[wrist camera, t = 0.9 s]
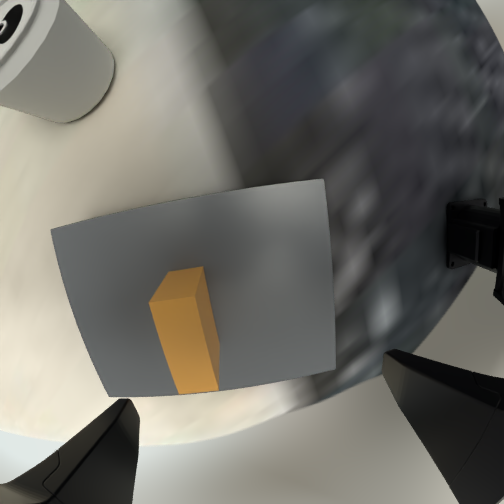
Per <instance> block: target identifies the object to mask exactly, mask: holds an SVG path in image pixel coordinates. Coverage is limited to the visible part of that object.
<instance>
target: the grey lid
mask: <svg viewBox="0 0 504 504" xmlns="http://www.w3.org/2000/svg"><path fill="white" fill-rule="evenodd" d="M51 235H52V240H53V244H54V249H55V253H56V257H57V261H58V265H59V269H60V272H61V276H62V280H63V283H64V286H65V290H66V293H67V296H68V299H69V302H70V305H71V308H72V311H73V314H74V317H75V320H76V323H77V325H78V328H79V331H80V333H81V336H82V338H83V341H84V343H85V346H86V348H87V351H88V353H89V355H90V358H91V360H92V362H93V365H94V367H95V369H96V371H97V373H98V375H99V378H100V380H101V382H102V384H103V386H104V388H105V390H106V392H107V394H108V396H109V397H153V396H172V395H185V394H197V393H207V392H216V391H224V390H232V389H239V388H245V387H252V386H258V385H264V384H269V383H275V382H280V381H285V380H290V379H295V378H299V377H304V376H308V375H313V374H317V373H321V372H325V371H329V370H333V369H336V348H335V307H334V286H333V269H332V255H331V242H330V231H329V221H328V211H327V202H326V194H325V185H324V179H315V180H306V181H297V182H289V183H281V184H273V185H266V186H259V187H252V188H245V189H238V190H232V191H226V192H220V193H214V194H208V195H202V196H196V197H191V198H185V199H180V200H175V201H169V202H164V203H159V204H154V205H149V206H145V207H140V208H135V209H131V210H126V211H122V212H117V213H113V214H109V215H104V216H100V217H96V218H92V219H88V220H84V221H80V222H76V223H72V224H69V225H65V226H61V227H57V228H54V229H51Z"/></svg>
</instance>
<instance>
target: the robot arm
mask: <svg viewBox="0 0 504 504" xmlns="http://www.w3.org/2000/svg"><path fill="white" fill-rule="evenodd" d="M499 205H500V209H495V208H489V207H487V201H486V200H485V199H477V200H468V201H458V202H450V203H449V204H448V206H447V219H448V246H447V267H448V268H450V269H454V268H457V267H461V266H464V265H467V264H470V263H472V264H474V265H477V266H480V267H482V268H484V269H487V270H489V271H492V272H494V273H497V276H496V284H495V289H494V292H493V296H495V297H496V298H497V299H498V300H499V301H500V302H501V303H502V304H503V305H504V198H499ZM451 208H452V209H451ZM451 263H452V264H451ZM382 374H383V376H384V378H385V380H386V382H387V384H388V386H389V388H390V390H391V392H392V394H393V396H394V398H395V400H396V402H397V404H398V406H399V407H400V409H401V411H402V412H403V414H404V415H405V417H406V418H407V420H408V422H409V423H410V424H411V426H412V428H413V429H414V431H415V432H416V434H417V435H418V437H419V439H420V440H421V442H422V443H423V445H424V446H425V448H426V449H427V451H428V452H429V454H430V456H431V457H432V459H433V461H434V462H435V464H436V466H437V467H438V469H439V470H440V472H441V473H442V475H443V477H444V478H445V480H446V482H447V484H448V485H450V486H449V487H450V489H451V490H452V492H453V494H454V496H455V497H456V499H457V501H458V502H459V504H499V503H500V502H501V501H502V500H503V499H504V378H499V377H493V376H489V375H484V374H480V373H476V372H471V371H469V370H465V369H462V368H458V367H454V366H451V365H447V364H444V363H440V362H437V361H433V360H430V359H427V358H423V357H420V356H417V355H413V354H410V353H407V352H404V351H401V350H397V349H392V350H389V351H386V352H385V353H384V356H383V365H382ZM139 428H140V418H139V414H138V412H137V410H136V408H135V406H134V404H133V403H132V401H131V400H130V399H128V398H127V399H118V400H117V401H116V402H115V403H113V404H112V405H111V406H110V407H109V408H108V409H106V410H105V411H104V412H103V413H102V414H100V415H99V416H98V417H97V418H96V419H94V420H93V421H92V422H91V423H90V424H88V425H87V426H86V427H85V428H83V429H82V430H81V431H80V432H79V433H77V434H76V435H75V436H74V437H72V438H71V439H70V440H69V441H68V442H66V443H65V444H64V445H63V446H61V447H60V448H59V449H58V450H56V451H55V452H54V453H53V454H52V455H50V456H49V457H47V458H46V459H45V460H44V461H42V462H41V463H39V464H38V465H36V466H35V467H33V468H32V469H30V470H29V471H27V472H25V473H24V474H22V475H20V476H19V477H17V478H15V479H14V480H12V481H10V482H8V483H4V484H0V504H132V500H133V490H134V483H135V476H136V468H137V462H138V453H139Z"/></svg>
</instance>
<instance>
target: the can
mask: <svg viewBox="0 0 504 504" xmlns="http://www.w3.org/2000/svg"><path fill="white" fill-rule="evenodd" d="M113 73H114V59H113V56H112V53H111V51H110V50H109V49H108V48H107V47H106V45H105V44H104V43H103V42H102V41H101V40H100V39H99V38H98V37H97V35H96V34H95V33H94V32H93V31H92V30H91V29H90V28H89V27H88V25H87V24H86V23H85V22H84V21H83V20H82V19H81V18H80V17H79V16H78V14H77V13H76V12H75V11H74V10H73V9H72V8H71V7H70V6H69V5H68V4H67V2H66V1H65V0H0V106H3V107H7V108H10V109H14V110H17V111H21V112H24V113H27V114H30V115H34V116H37V117H40V118H43V119H46V120H49V121H53V122H59V123H66V122H70V121H73V120H77V119H78V118H80V117H82V116H83V115H85V114H86V113H88V112H89V111H90V110H91V109H92V108H93V107H94V106H95V105H96V104H97V103H98V102H99V101H100V100H101V98H102V97H103V95H104V94H105V92H106V91H107V89H108V88H109V85H110V82H111V80H112V77H113Z"/></svg>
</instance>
